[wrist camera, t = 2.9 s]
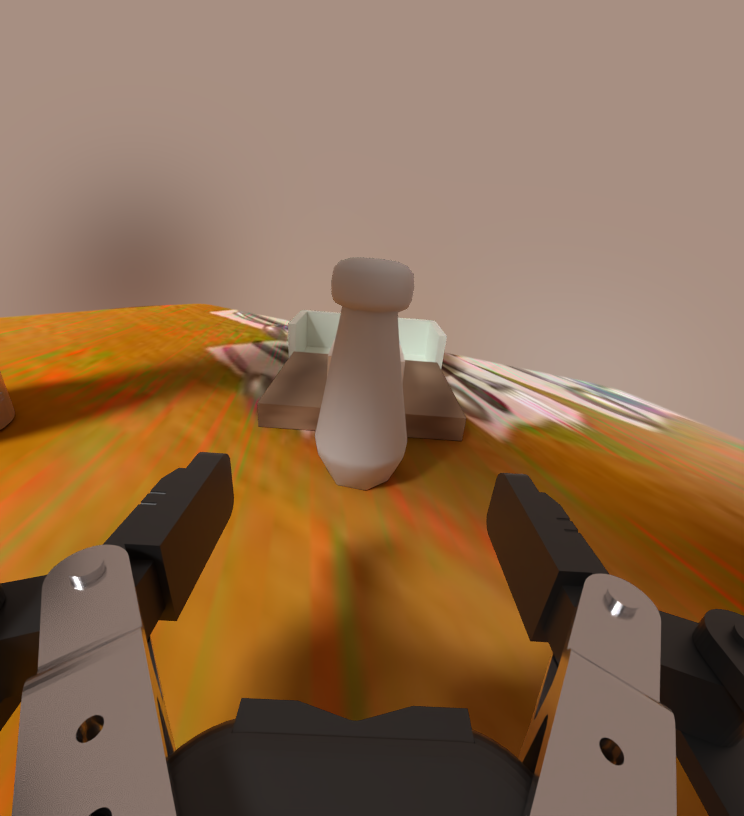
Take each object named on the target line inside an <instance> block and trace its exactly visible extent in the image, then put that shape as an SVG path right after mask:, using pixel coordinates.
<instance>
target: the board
mask: <svg viewBox="0 0 744 816" xmlns="http://www.w3.org/2000/svg"><path fill="white" fill-rule="evenodd" d="M327 364H328V354H321V353H309V352H296V351H294V352H293V353H292V355H291V356H290V357H289V359H288V360H287V362H286V363H285V365H284V366H283V367H282V369H281V370H280V372H279V373H278V374H277V376H276V377H275V379H274V380H273V382H272V383H271V384H270V386H269V387H268V389H267V390H266V391H265V393H264V394H263V396H262V397H261V399H260V400H259V401H258V403H257V407H258V424H259V427H273V428H287V429H301V430H316V428H317V423H318V418H319V414H320V409H321V404H322V400H323V395H324V390H325V385H326V381H327ZM403 395H404V408H405V420H406V433H407V437H414V438H428V439H442V440H456V441H462V437H463V432H464V428H465V423H466V417H465V415H464V413H463V411H462V409H461V407H460V405H459V403H458V401H457V399H456V397H455V396H454V394H453V392H452V390H451V388H450V386H449V384H448V382H447V380H446V378H445V376H444V375H443V373H442V371H441V369H440V367H439V365H438V363H437V362H424V361H411V360H405V367H404V375H403Z"/></svg>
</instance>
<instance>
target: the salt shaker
mask: <svg viewBox="0 0 744 816" xmlns="http://www.w3.org/2000/svg"><path fill="white" fill-rule="evenodd" d="M331 286H332V297H333V300H334V301H335V302H336V303H337V304H339V305H341V306H342V310H341V315H340V319H339V324H338V329H337V334H336V338H335V343H334V348H333V352H332V357H331V362H330V367H329V371H328V376H327V381H326V385H325V390H324V395H323V400H322V404H321V409H320V414H319V418H318V423H317V428H316V433H315V439H316V445H317V450H318V454H319V456H320V458H321V459H322V461H323V463H324V464H325V466H326V468H327V470H328V471H329V473H330V475H331V476H332V478H333V479H334V481H335V482H336V484H337V485H341V486H346V487H351V488H356V489H361V490H368V489H370V488H372V487H375V486H377V485H379V484H381V483H383V482H386V481H388V479H389V478H390V476H391V475H392V473H393V472H394V471H395V469H396V468H397V466H398V465H399V463H400V462H401V460H402V459H403V456H404V453H405V449H406V444H407V433H406V420H405V408H404V395H403V383H402V371H401V358H400V346H399V329H398V312H400V311H403V310H405V309H407V308H408V307H409V305H410V303H411V301H412V296H413V291H414V274H413V273H412V271H411V270H410V269H409V267H408V266H406V265H404V264H402V263H400V262H396V261H390V260H385V259H374V258H348V259H345V260H341V261H340V262H339V263H338V264H337V265H336V266H335V267H334V270H333V275H332V281H331Z"/></svg>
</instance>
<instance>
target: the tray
mask: <svg viewBox="0 0 744 816" xmlns="http://www.w3.org/2000/svg"><path fill="white" fill-rule="evenodd" d="M340 315H341V313H334V312H323V311H310V310H301V311H300V312H299V313H298V314H297V315H296V316H295V317H294V318H293V319H292V320H291V321H290V322H289V323H288V349H289V357H290V356H291V355H292V353H293V352H294V351H296V352H309V353H321V354H329V351H330V349H331V346H332V344H333V341H334V340H335V336H336V333H337V329H338V324H339V319H340ZM398 329H399V340H400V345H401V348H402V352H403V356H404V359H405V360H411V361H424V362H437V363H438V365H439V367H440V369H441V368H442V362H443V356H444V350H445V344H446V338H447V336H446V335H445V333H444V332H443V331H442V329H441V328H440V327H439V325H438V324H437V323H436V321H433V320H420V319H408V318H398Z"/></svg>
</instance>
